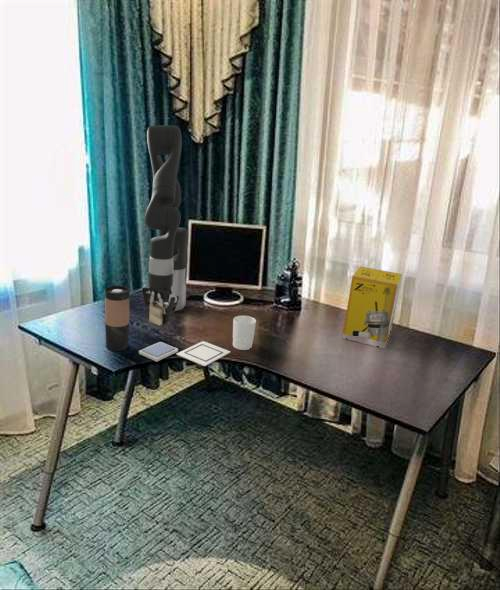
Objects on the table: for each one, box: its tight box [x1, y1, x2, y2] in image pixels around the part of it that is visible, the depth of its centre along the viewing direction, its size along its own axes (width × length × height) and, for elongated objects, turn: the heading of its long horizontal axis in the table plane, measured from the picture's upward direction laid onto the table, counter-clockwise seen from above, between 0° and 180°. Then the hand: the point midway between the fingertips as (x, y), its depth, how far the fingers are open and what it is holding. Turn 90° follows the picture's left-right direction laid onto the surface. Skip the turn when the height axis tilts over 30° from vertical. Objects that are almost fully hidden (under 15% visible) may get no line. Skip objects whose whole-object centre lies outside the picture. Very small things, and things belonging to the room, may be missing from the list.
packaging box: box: [342, 266, 404, 344], centre depth 186 cm, size 16×16×25 cm
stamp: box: [148, 302, 171, 329], centre depth 156 cm, size 5×5×6 cm
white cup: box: [232, 315, 257, 351], centre depth 170 cm, size 8×8×10 cm
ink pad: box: [138, 341, 179, 363], centre depth 161 cm, size 10×8×1 cm
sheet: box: [175, 340, 231, 367], centre depth 163 cm, size 14×12×1 cm
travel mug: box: [104, 285, 130, 352], centre depth 159 cm, size 8×8×20 cm
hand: (159, 321), depth 157 cm, fingers closed on stamp, 4 cm apart
